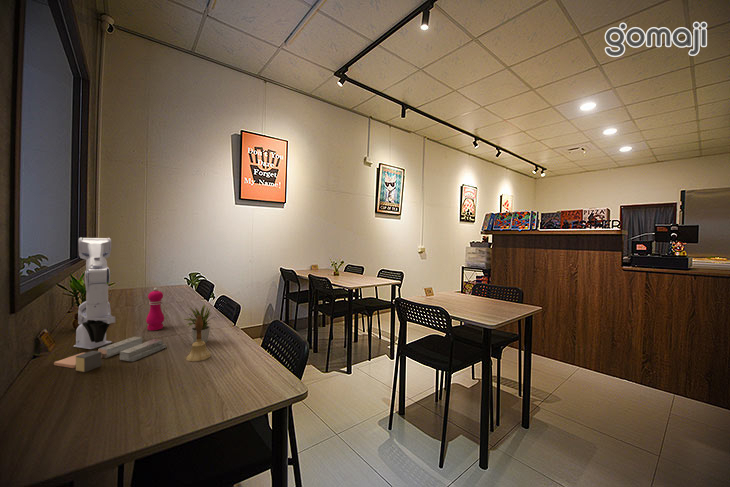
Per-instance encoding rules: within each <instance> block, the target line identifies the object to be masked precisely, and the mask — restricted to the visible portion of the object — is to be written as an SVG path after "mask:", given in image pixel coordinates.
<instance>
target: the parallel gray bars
mask: <svg viewBox="0 0 730 487" xmlns="http://www.w3.org/2000/svg"><path fill="white" fill-rule="evenodd" d="M164 348H165V349H167V343H163V340H162V339H159V338H158V339H157V338H153V339H150V340H148V341H145V342H143V337H142V336H132V337H129V338H126V339H123V340H121V341H117V342H114V343H112V344H111V343H110V344H107V345H104V346H101V347H98V350H97V351H98V352H101V355H102V358H104V359H108V358H110V357H113V356H115V355H118V354H119V360H120V361H125V362H131V363H132V362H136V361H138V360H140V359H142V358H145V357H148V356H150V355H152V354H154V353H158V352H159V351H162V350H164Z"/></svg>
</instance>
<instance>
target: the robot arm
mask: <svg viewBox="0 0 730 487" xmlns="http://www.w3.org/2000/svg"><path fill="white" fill-rule="evenodd" d="M111 252H112V239H111V238H110V237H79V238H78V256H79V258H80V259H82V260H85V271H84V285H85V291H86V293H85V297H86V298H85V301H83V302H82V303H81V304H79V306H78V311H77V315H78V316H77V321H78V322H77V324H78V326H77V328H76V330H75V344H74V345H73V346H72V347H73V348H78V349H79V348H80V349H88V350H93V349H94V350H95V349H97V348H101V347H104V346H107V345H110V344H111V343H112V344H113V341H111V340H107V330H108V329H109V327H110V325H111V324H114V323H116V316H113V315H112V312H111V303H110V302H109V285H110V282H111V271H110V268H109V266H108V261H107V259H108V258H110V256H111Z"/></svg>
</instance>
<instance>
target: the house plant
mask: <svg viewBox="0 0 730 487" xmlns="http://www.w3.org/2000/svg"><path fill="white" fill-rule="evenodd" d="M185 308H186V309H189V310H191V311H192V313H193V314H192V313H190V312H188V311H186V314H188V315H190V316H191V317H190V316H189V317H187V318H184V319H183V320H184V321H187V323H186V326H188V328H189V327H190V326H192V325H193V326H194V327H191V333H192V340H193V343H195V342H196V338H197V337H196V336H197V331H196V328H195V322H196V319H197V316H199V315H201V317H202V320H203V328H202V331H201V341H203V342H205V344H206V343H208V341H209V340H208V339H209V334H210V331H211V326H210V325H211V322H209V321H210V320H212V319H215V318H216V317H217V316H216V317H215V316H212V317H211V318H209V317H210V316H211V311H210V310H211V307H209V306H207V308H206V304H203V305H202V308H201V310H200V311H199V310H198V308H195V310H194V309H192V308H191V307H187V306H186V307H185ZM205 309H206V310H205ZM208 318H209V319H208ZM216 319H217V318H216ZM189 321H190V322H189ZM208 322H209V323H208Z"/></svg>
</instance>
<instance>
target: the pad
mask: <svg viewBox="0 0 730 487" xmlns="http://www.w3.org/2000/svg"><path fill="white" fill-rule="evenodd" d="M84 353H85V352H81V353H77V354H74V355H71V356H68V357H65V358H63V359H60V360H56V361H54V362H53V365H54V366H58V367H65V368H70V369H76V356H78V355H81V354H84ZM102 358H103V357H102V355H101V359H102Z"/></svg>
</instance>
